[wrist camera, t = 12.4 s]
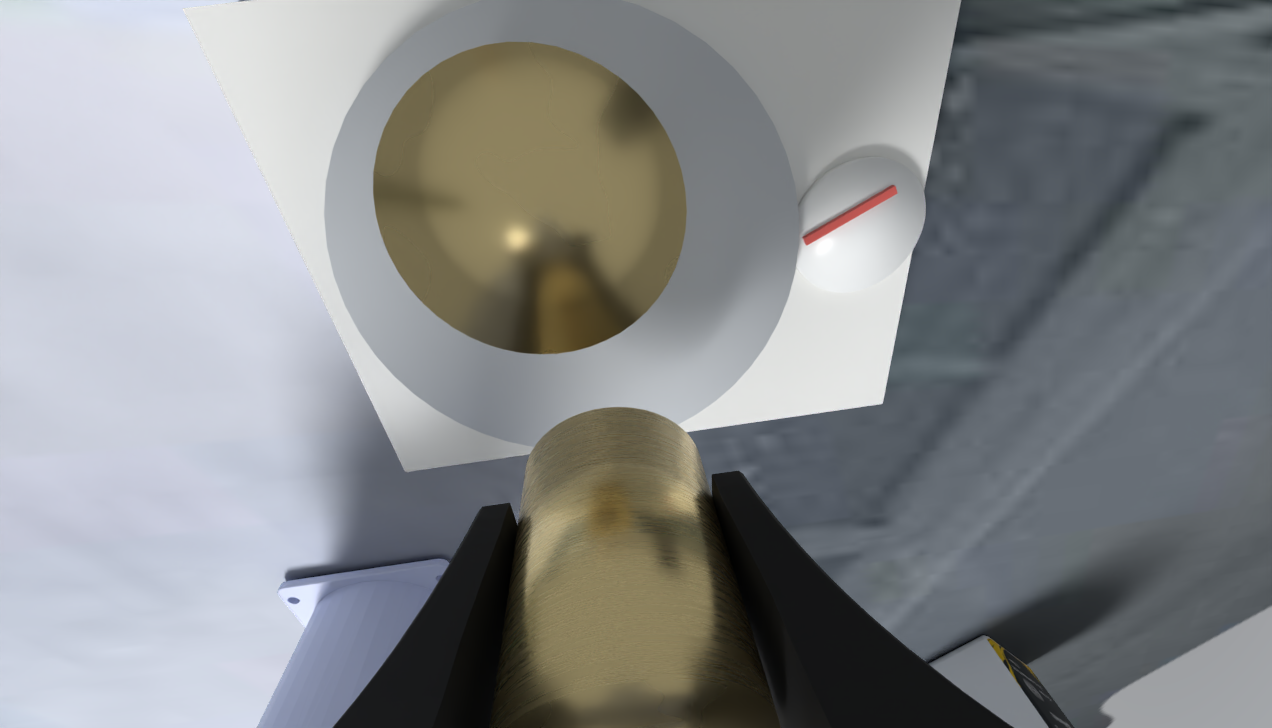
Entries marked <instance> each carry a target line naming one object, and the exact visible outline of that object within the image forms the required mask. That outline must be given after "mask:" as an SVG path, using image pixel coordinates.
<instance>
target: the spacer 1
mask: <svg viewBox="0 0 1272 728" xmlns="http://www.w3.org/2000/svg"><path fill="white" fill-rule="evenodd" d="M373 197H374V205H375V214H376V218H377V222H378V226H379V230H380V234H381V237H382V239H383V242H384V244H385V247H386V249H387V252H388V254H389V256H390V258H391V260H392V262H393V263H394V265H395V267H396V269H397V271H398V273H399V274H400V275H401V277H402V278H403V280H404V281H405V282H406V284H407V285H408V287H409V288H410V289H411V291H412V292H413V293H414V294H415V295H416V296H417V297H418V298H419V299H420V301H421V302H422V303H423V304H424V305H425V306H426V307H428V308H429V309H430V310H431V311H432V312H433V313H434V314H435V315H436V316H438V317H439V318H440V319H442V320H443V321H444V322H446V323H447V324H449V325H450V326H451V327H453V328H454V329H456V330H458V331H460V332H462V333H463V334H465V335H467V336H469V337H471V338H473V339H475V340H478V341H480V342H482V343H485V344H487V345H490V346H494V347H497V348H500V349H504V350H508V351H514V352H519V353H528V354H559V353H565V352H572V351H577V350H580V349H584V348H588V347H591V346H594V345H596V344H599V343H601V342H604V341H606V340H608V339H610V338H612V337H613V336H615V335H617V334H619V333H621V332H622V331H624V330H625V329H626V328H628V327H629V326H631V325H632V324H633V323H635V322H636V321H637V320H638V319H639V318H640V317H641V316H642V315H643V314H645V313H646V312H647V311H648V310H649V308H650V307H651V306H652V305H653V304H654V303H655V301H656V300H657V299H658V298H659V296H660V295H661V293H662V292H663V290H664V289H665V287H666V286H667V284H668V282H669V280H670V278H671V276H672V274H673V272H674V270H675V268H676V265H677V262H678V259H679V256H680V253H681V250H682V246H683V241H684V236H685V231H686V216H687V206H686V191H685V185H684V180H683V175H682V170H681V167H680V164H679V161H678V158H677V155H676V152H675V149H674V147H673V145H672V143H671V141H670V139H669V137H668V135H667V133H666V131H665V129H664V127H663V126H662V124H661V123H660V121H659V120H658V118H657V117H656V115H655V114H654V112H653V111H652V110H651V108H650V107H649V106H648V105H647V104H646V102H645V101H644V100H643V99H642V98H641V97H640V95H639V94H638V93H637V92H636V91H634V90H633V89H632V88H631V87H630V86H629V85H628V84H627V83H626V82H624V81H623V80H622V79H621V78H620V77H618V76H617V75H615V74H614V73H612V72H611V71H610V70H608V69H607V68H605V67H604V66H602V65H601V64H599V63H597V62H595V61H593V60H591V59H589V58H587V57H585V56H583V55H581V54H578V53H575V52H572V51H569V50H566V49H563V48H560V47H557V46H552V45H546V44H540V43H535V42H501V43H494V44H487V45H482V46H479V47H476V48H472V49H469V50H466V51H462V52H460V53H458V54H456V55H454V56H452V57H450V58H448V59H446V60H444V61H442V62H440V63H439V64H437V65H436V66H435V67H433V68H432V69H430V70H429V71H428V72H426V73H425V74H423V75H422V76H421V77H420V78H419V79H418V80H417V81H416V82H415V83H414V84H413V85H412V86H411V87H410V88H409V89H408V90H407V91H406V93H405V94H404V95H403V97H402V98H401V100H400V101H399V102H398V104H397V105H396V107H395V108H394V109H393V111H392V113H391V115H390V117H389V119H388V121H387V123H386V125H385V127H384V129H383V133H382V136H381V139H380V142H379V145H378V148H377V153H376V159H375V165H374V171H373Z"/></svg>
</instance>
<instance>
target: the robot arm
mask: <svg viewBox="0 0 1272 728" xmlns="http://www.w3.org/2000/svg"><path fill="white" fill-rule="evenodd" d="M712 499H713V502H714V505H715V509H716V512H717V515H718V519H719V522H720V525H721V529H722V532H723V535H724V539H725V542H726V545H727V549H728V552H729V555H730V559H731V562H732V565H733V569H734V572H735V575H736V579H737V582H738V585H739V589H740V592H741V595H742V599H743V602H744V605H745V609H746V612H747V615H748V619H749V622H750V625H751V629H752V632H753V635H754V639H755V642H756V645H757V649H758V652H759V655H760V659H761V662H762V665H763V669H764V672H765V675H766V679H767V682H768V685H769V689H770V692H771V695H772V699H773V702H774V705H775V709H776V712H777V715H778V719H779V723H780V727H781V728H1014V727H1012V726H1011V725H1009V724H1008V723H1007V722H1005V721H1004V720H1002V719H1001V718H999V717H998V716H997V715H995V714H994V713H993V712H991V711H990V710H988V709H987V708H986V707H984V706H983V705H981V704H980V703H979V702H977V701H976V700H975V699H973V698H972V697H970V696H969V695H968V694H966V693H965V692H963V691H962V690H961V689H960V688H958V687H957V686H956V685H954V684H953V683H952V682H951V681H949V680H948V679H947V678H945V677H944V676H943V675H942V674H940V673H939V672H938V671H937V670H935V669H934V668H933V667H931V666H930V665H929V664H928V663H926V662H925V661H924V660H922V659H921V658H920V657H919V656H917V655H916V654H915V653H914V652H912V651H911V650H910V649H908V648H907V647H906V646H905V645H904V644H902V643H901V642H900V641H899V640H898V639H897V638H895V637H894V636H893V635H892V634H891V633H890V632H888V631H887V630H886V629H885V628H884V627H883V626H881V625H880V624H879V623H878V622H877V621H876V620H875V619H873V618H872V617H871V616H870V615H869V614H868V613H867V612H866V611H865V610H863V609H862V608H861V607H860V606H859V605H858V604H857V603H856V602H855V601H854V600H853V599H852V598H851V597H849V596H848V595H847V594H846V593H845V592H844V591H843V590H842V589H841V588H840V587H839V586H838V585H837V584H836V583H835V582H834V581H833V580H832V579H831V578H830V577H829V576H828V575H827V574H826V573H825V572H824V571H823V570H822V569H821V568H820V567H819V566H818V565H817V563H816V562H815V561H814V560H813V559H812V558H811V557H810V556H809V555H808V554H807V553H806V552H805V551H804V549H803V548H802V547H801V546H800V545H799V544H798V543H797V542H796V540H795V539H794V538H793V537H792V536H791V535H790V534H789V532H788V531H787V530H786V529H785V528H784V527H783V526H782V524H781V523H780V522H779V521H778V520H777V518H776V517H775V516H774V515H773V513H772V512H771V511H770V510H769V508H768V507H767V506H766V505H765V503H764V502H763V501H762V500H761V498H760V497H759V496H758V494H757V493H756V492H755V490H754V489H753V488H752V486H751V485H750V483H749V482H748V481H747V479H746V478H745V476H744V475H743V474H742V473H741V472H739V471H733V472H726V473H719V474H712ZM517 527H518V526H517V523H516V520H515V517H514V514H513V511H512V508H511V505H510V503H506V504H499V505H492V506H485V507H482V508H481V509H480V510H479V512H478V514H477V516H476V517H475V519H474V521H473V523H472V525H471V527H470V528H469V530H468V532H467V534H466V536H465V537H464V539H463V541H462V543H461V544H460V546H459V548H458V550H457V551H456V553H455V555H454V557H453V558H452V560H451V562H450V563H449V562H448V561H447V560H445V559H432V560H425V561H418V562H412V563H405V564H398V565H391V566H385V567H378V568H371V569H364V570H358V571H351V572H344V573H337V574H331V575H324V576H317V577H310V578H304V579H297V580H290V581H286V582H283V583H282V584H281V585H280V587H279V589H278V591H277V593H278V595H279V596H280V598H281V599H282V600H283V601H284V603H285V604H286V605H287V606H288V608H289V609H290V610H291V611H292V612H293V614H294V615H295V616H296V617H297V619H298V620H299V621H300V622H301V624H302V625H303V626H304V627H305V630H304V632H303V634H302V636H301V638H300V640H299V642H298V644H297V647H296V649H295V651H294V653H293V655H292V657H291V659H290V661H289V663H288V665H287V667H286V669H285V671H284V673H283V675H282V677H281V679H280V681H279V683H278V685H277V687H276V689H275V691H274V694H273V696H272V698H271V700H270V702H269V704H268V706H267V708H266V710H265V712H264V714H263V716H262V718H261V720H260V722H259V724H258V726H257V728H490V721H491V714H492V707H493V700H494V692H495V685H496V678H497V671H498V664H499V656H500V649H501V642H502V635H503V628H504V620H505V613H506V606H507V599H508V592H509V584H510V577H511V570H512V563H513V556H514V548H515V541H516V534H517Z"/></svg>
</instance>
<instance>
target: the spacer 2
mask: <svg viewBox="0 0 1272 728" xmlns="http://www.w3.org/2000/svg"><path fill="white" fill-rule="evenodd" d="M490 728H781V727H780V723H779V719H778V715H777V712H776V709H775V705H774V702H773V699H772V695H771V692H770V689H769V685H768V682H767V679H766V675H765V672H764V669H763V665H762V662H761V659H760V655H759V652H758V649H757V645H756V642H755V639H754V635H753V632H752V629H751V625H750V622H749V619H748V615H747V612H746V609H745V605H744V602H743V599H742V595H741V592H740V589H739V585H738V582H737V579H736V575H735V572H734V569H733V565H732V562H731V559H730V555H729V552H728V549H727V545H726V542H725V539H724V535H723V532H722V529H721V525H720V522H719V519H718V515H717V512H716V509H715V505H714V502H713V499H712V495H711V492H710V489H709V485H708V482H707V479H706V475H705V472H704V469H703V465H702V462H701V459H700V455H699V452H698V450H697V448H696V445H695V443H694V442H693V441H692V439H691V438H690V436H689V435H688V434H687V433H686V432H685V431H684V430H683V429H682V428H681V427H680V426H678V425H677V424H676V423H674V422H673V421H671V420H669V419H668V418H666V417H664V416H661V415H659V414H657V413H654V412H650V411H647V410H643V409H637V408H629V407H608V408H601V409H594V410H590V411H587V412H583V413H580V414H578V415H575V416H572V417H570V418H568V419H566V420H564V421H562V422H561V423H559V424H558V425H556V426H555V427H553V428H552V429H550V430H549V431H548V432H547V433H546V434H545V435H544V436H543V437H542V438H541V439H540V440H539V441H538V443H537V444H536V445H535V447H534V448H533V450H532V452H531V454H530V456H529V459H528V461H527V465H526V470H525V476H524V484H523V491H522V498H521V505H520V512H519V520H518V527H517V534H516V541H515V548H514V556H513V563H512V570H511V577H510V584H509V592H508V599H507V606H506V613H505V620H504V628H503V635H502V642H501V649H500V656H499V664H498V671H497V678H496V685H495V692H494V700H493V707H492V714H491V721H490Z"/></svg>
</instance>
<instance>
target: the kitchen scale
mask: <svg viewBox="0 0 1272 728" xmlns="http://www.w3.org/2000/svg"><path fill="white" fill-rule="evenodd" d="M960 4H961V0H250V1H241V2H233V3H225V4H216V5H208V6H199V7H191V8H183V11H184V13H185V15H186V17H187V19H188V21H189V23H190V25H191V27H192V29H193V32H194V34H195V36H196V38H197V40H198V42H199V44H200V46H201V48H202V50H203V52H204V54H205V57H206V59H207V61H208V63H209V65H210V67H211V69H212V71H213V73H214V75H215V77H216V79H217V82H218V84H219V86H220V88H221V90H222V92H223V94H224V96H225V98H226V100H227V102H228V104H229V107H230V109H231V111H232V113H233V115H234V117H235V119H236V121H237V123H238V125H239V127H240V129H241V131H242V134H243V136H244V138H245V140H246V142H247V144H248V146H249V148H250V150H251V152H252V154H253V156H254V159H255V161H256V163H257V165H258V167H259V169H260V171H261V173H262V175H263V177H264V179H265V181H266V184H267V186H268V188H269V190H270V192H271V194H272V196H273V198H274V200H275V202H276V204H277V206H278V209H279V211H280V213H281V215H282V217H283V219H284V221H285V223H286V225H287V227H288V229H289V231H290V234H291V236H292V238H293V240H294V242H295V244H296V246H297V248H298V250H299V252H300V254H301V256H302V259H303V261H304V263H305V265H306V267H307V269H308V271H309V273H310V275H311V277H312V279H313V281H314V284H315V286H316V288H317V290H318V292H319V294H320V296H321V298H322V300H323V302H324V304H325V306H326V309H327V311H328V313H329V315H330V317H331V319H332V321H333V323H334V325H335V327H336V329H337V331H338V334H339V336H340V338H341V340H342V342H343V344H344V346H345V348H346V350H347V352H348V354H349V356H350V358H351V361H352V363H353V365H354V367H355V369H356V371H357V373H358V375H359V377H360V379H361V381H362V383H363V386H364V388H365V390H366V392H367V394H368V396H369V398H370V400H371V402H372V404H373V406H374V408H375V411H376V413H377V415H378V417H379V419H380V421H381V423H382V425H383V427H384V429H385V431H386V433H387V436H388V438H389V440H390V442H391V444H392V446H393V448H394V450H395V452H396V454H397V456H398V458H399V461H400V463H401V465H402V467H403V469H404V471H405V472H411V471H418V470H425V469H432V468H439V467H446V466H453V465H460V464H467V463H474V462H481V461H488V460H495V459H502V458H509V457H516V456H523V455H530V454H531V452H532V450H533V448H534V447H535V445H536V444H537V443H538V441H539V440H540V439H541V438H542V437H543V436H544V435H545V434H546V433H547V432H548V431H549V430H550V429H552V428H553V427H555V426H556V425H558V424H559V423H561V422H562V421H564V420H566V419H568V418H570V417H572V416H575V415H578V414H580V413H583V412H587V411H590V410H594V409H601V408H608V407H629V408H637V409H643V410H647V411H650V412H654V413H657V414H659V415H661V416H664V417H666V418H668V419H669V420H671V421H673V422H674V423H676V424H677V425H678V426H680V427H681V428H682V429H683V430H684V431H685V432H690V431H697V430H704V429H711V428H718V427H725V426H731V425H738V424H745V423H752V422H759V421H766V420H773V419H780V418H787V417H794V416H801V415H808V414H815V413H822V412H829V411H836V410H843V409H850V408H857V407H864V406H871V405H878V404H883V399H884V394H885V389H886V384H887V379H888V373H889V368H890V363H891V358H892V353H893V348H894V343H895V337H896V332H897V327H898V322H899V317H900V312H901V307H902V302H903V296H904V291H905V286H906V281H907V276H908V271H909V266H910V260H911V255H912V250H913V249H914V247H915V245H916V243H917V241H918V239H919V237H920V234H921V232H922V229H923V225H924V221H925V214H926V202H925V195H924V189H925V183H926V178H927V173H928V168H929V163H930V158H931V153H932V147H933V142H934V137H935V132H936V127H937V122H938V117H939V112H940V106H941V101H942V96H943V91H944V86H945V81H946V76H947V70H948V65H949V60H950V55H951V50H952V45H953V40H954V34H955V29H956V24H957V19H958V14H959V9H960ZM501 42H535V43H540V44H546V45H552V46H557V47H560V48H563V49H566V50H569V51H572V52H575V53H578V54H581V55H583V56H585V57H587V58H589V59H591V60H593V61H595V62H597V63H599V64H601V65H602V66H604V67H605V68H607V69H608V70H610V71H611V72H612V73H614V74H615V75H617V76H618V77H620V78H621V79H622V80H623V81H624V82H626V83H627V84H628V85H629V86H630V87H631V88H632V89H633V90H634V91H636V92H637V93H638V94H639V95H640V97H641V98H642V99H643V100H644V101H645V102H646V104H647V105H648V106H649V107H650V108H651V110H652V111H653V112H654V114H655V115H656V117H657V118H658V120H659V121H660V123H661V124H662V126H663V127H664V129H665V131H666V133H667V135H668V137H669V139H670V141H671V143H672V145H673V147H674V149H675V152H676V155H677V158H678V161H679V164H680V167H681V170H682V175H683V180H684V185H685V191H686V206H687V216H686V231H685V236H684V241H683V246H682V250H681V253H680V256H679V259H678V262H677V265H676V268H675V270H674V272H673V274H672V276H671V278H670V280H669V282H668V284H667V286H666V287H665V289H664V290H663V292H662V293H661V295H660V296H659V298H658V299H657V300H656V301H655V303H654V304H653V305H652V306H651V307H650V308H649V310H648V311H647V312H646V313H645V314H643V315H642V316H641V317H640V318H639V319H638V320H637V321H636V322H635V323H633V324H632V325H631V326H629V327H628V328H626V329H625V330H624V331H622V332H621V333H619V334H617V335H615V336H613V337H612V338H610V339H608V340H606V341H604V342H601V343H599V344H596V345H594V346H591V347H588V348H584V349H580V350H577V351H572V352H565V353H559V354H528V353H519V352H514V351H508V350H504V349H500V348H497V347H494V346H490V345H487V344H485V343H482V342H480V341H478V340H475V339H473V338H471V337H469V336H467V335H465V334H463V333H462V332H460V331H458V330H456V329H454V328H453V327H451V326H450V325H449V324H447V323H446V322H444V321H443V320H442V319H440V318H439V317H438V316H436V315H435V314H434V313H433V312H432V311H431V310H430V309H429V308H428V307H426V306H425V305H424V304H423V303H422V302H421V301H420V299H419V298H418V297H417V296H416V295H415V294H414V293H413V292H412V291H411V289H410V288H409V287H408V285H407V284H406V282H405V281H404V280H403V278H402V277H401V275H400V274H399V273H398V271H397V269H396V267H395V265H394V263H393V262H392V260H391V258H390V256H389V254H388V252H387V249H386V247H385V244H384V242H383V239H382V237H381V234H380V230H379V226H378V222H377V218H376V214H375V205H374V197H373V171H374V165H375V159H376V153H377V148H378V145H379V142H380V139H381V136H382V133H383V129H384V127H385V125H386V123H387V121H388V119H389V117H390V115H391V113H392V111H393V109H394V108H395V107H396V105H397V104H398V102H399V101H400V100H401V98H402V97H403V95H404V94H405V93H406V91H407V90H408V89H409V88H410V87H411V86H412V85H413V84H414V83H415V82H416V81H417V80H418V79H419V78H420V77H421V76H422V75H423V74H425V73H426V72H428V71H429V70H430V69H432V68H433V67H435V66H436V65H437V64H439V63H440V62H442V61H444V60H446V59H448V58H450V57H452V56H454V55H456V54H458V53H460V52H462V51H466V50H469V49H472V48H476V47H479V46H482V45H487V44H494V43H501Z"/></svg>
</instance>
